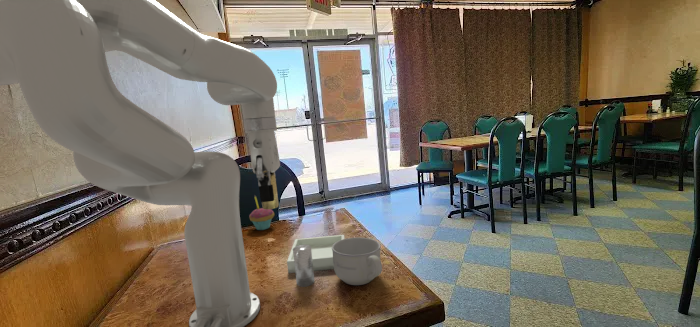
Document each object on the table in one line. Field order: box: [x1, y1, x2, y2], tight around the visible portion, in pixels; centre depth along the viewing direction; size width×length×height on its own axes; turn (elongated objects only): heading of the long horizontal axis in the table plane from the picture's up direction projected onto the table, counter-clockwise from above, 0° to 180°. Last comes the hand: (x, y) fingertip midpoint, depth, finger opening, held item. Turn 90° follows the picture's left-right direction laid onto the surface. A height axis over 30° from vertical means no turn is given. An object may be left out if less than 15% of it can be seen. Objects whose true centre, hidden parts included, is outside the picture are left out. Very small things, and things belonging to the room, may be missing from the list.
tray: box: [286, 234, 345, 274], centre depth 80 cm, size 14×14×3 cm
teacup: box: [332, 236, 383, 286], centre depth 66 cm, size 14×11×8 cm
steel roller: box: [293, 245, 315, 288], centre depth 68 cm, size 4×4×8 cm
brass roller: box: [261, 174, 279, 210], centre depth 76 cm, size 4×4×8 cm
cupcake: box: [248, 194, 275, 231], centre depth 107 cm, size 9×8×12 cm
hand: (269, 198), depth 76 cm, fingers closed on brass roller, 4 cm apart
